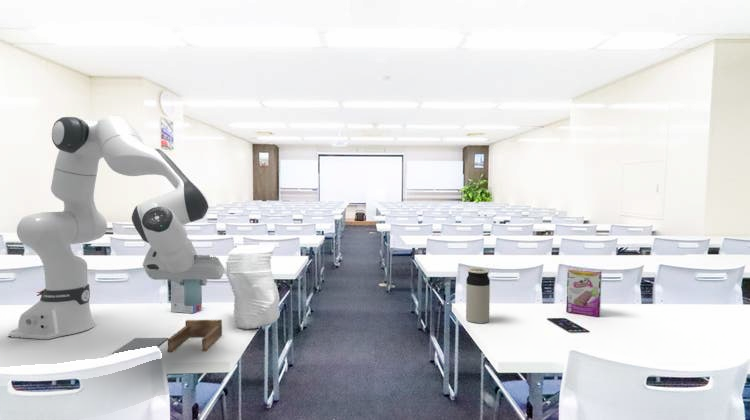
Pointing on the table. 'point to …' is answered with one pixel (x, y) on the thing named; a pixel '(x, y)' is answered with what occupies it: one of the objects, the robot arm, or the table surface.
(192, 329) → the holder
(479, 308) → the travel mug
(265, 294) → the white crumpled mass
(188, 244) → the robot arm
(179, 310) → the ink cartridge box
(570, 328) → the smartphone
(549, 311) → the table surface
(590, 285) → the candy bar box
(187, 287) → the pale blue domed cylinder
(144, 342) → the mat
